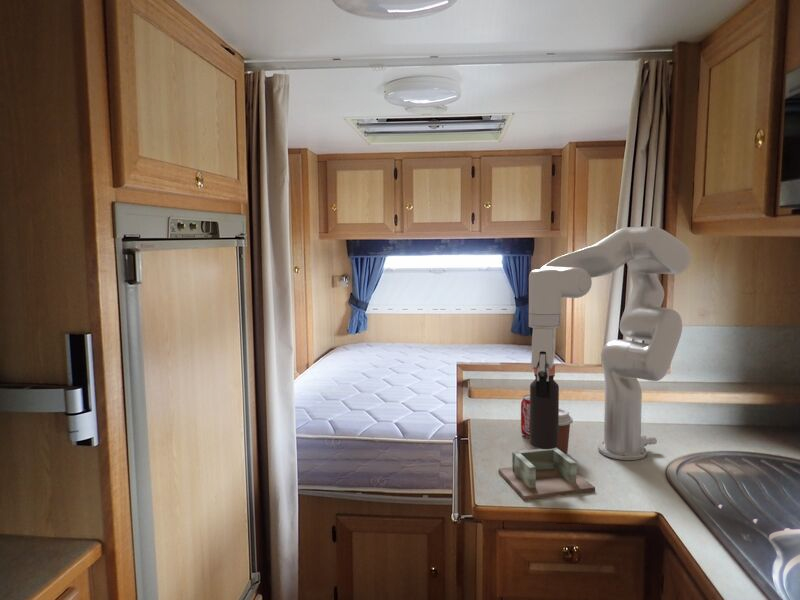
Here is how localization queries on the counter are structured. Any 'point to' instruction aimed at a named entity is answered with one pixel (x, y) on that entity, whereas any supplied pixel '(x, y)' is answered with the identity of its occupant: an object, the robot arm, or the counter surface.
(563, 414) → the coffee cup
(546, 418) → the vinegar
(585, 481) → the u rest
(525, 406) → the soda can
